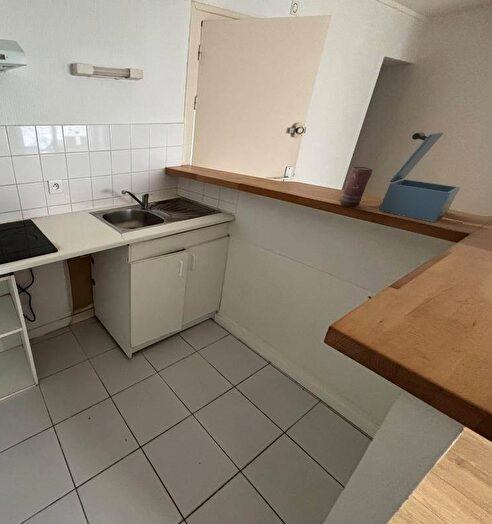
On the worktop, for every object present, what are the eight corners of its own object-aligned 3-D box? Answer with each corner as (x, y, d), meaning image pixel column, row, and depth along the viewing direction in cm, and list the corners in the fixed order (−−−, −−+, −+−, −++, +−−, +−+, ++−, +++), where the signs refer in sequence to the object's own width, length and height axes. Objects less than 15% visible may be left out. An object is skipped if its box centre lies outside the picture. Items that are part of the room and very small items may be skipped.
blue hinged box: (445, 215, 99) (460, 187, 94) (434, 222, 92) (450, 193, 88) (391, 204, 110) (402, 178, 105) (378, 210, 104) (389, 183, 99)
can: (359, 208, 106) (374, 170, 99) (339, 205, 109) (352, 168, 102) (358, 204, 110) (372, 167, 103) (339, 201, 113) (352, 165, 106)
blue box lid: (443, 133, 94) (426, 127, 96) (432, 135, 87) (414, 128, 90) (404, 178, 105) (390, 171, 108) (391, 182, 99) (376, 175, 101)
